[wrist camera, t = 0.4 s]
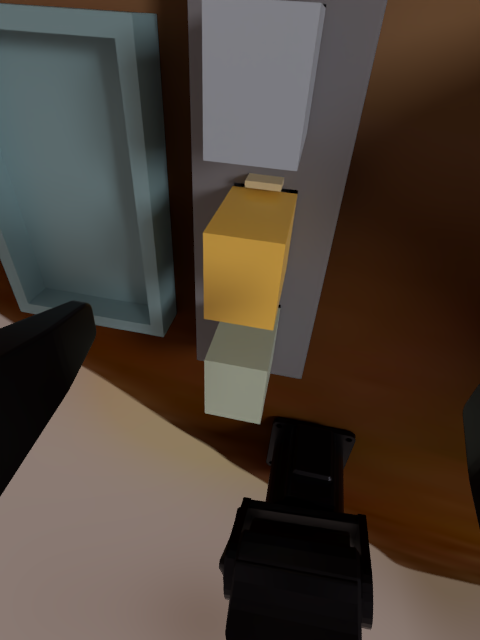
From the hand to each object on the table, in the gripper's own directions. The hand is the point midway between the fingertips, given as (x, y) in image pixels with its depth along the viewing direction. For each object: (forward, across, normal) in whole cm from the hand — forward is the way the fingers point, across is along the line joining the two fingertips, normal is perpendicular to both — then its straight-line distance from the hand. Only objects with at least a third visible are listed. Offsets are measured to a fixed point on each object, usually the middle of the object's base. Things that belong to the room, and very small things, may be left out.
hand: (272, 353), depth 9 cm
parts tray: (+13, +12, +2) cm, 18 cm away
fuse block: (+13, +2, +2) cm, 13 cm away
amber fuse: (+13, +2, +2) cm, 13 cm away
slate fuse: (+13, +2, -5) cm, 14 cm away
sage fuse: (+13, +2, +8) cm, 16 cm away
